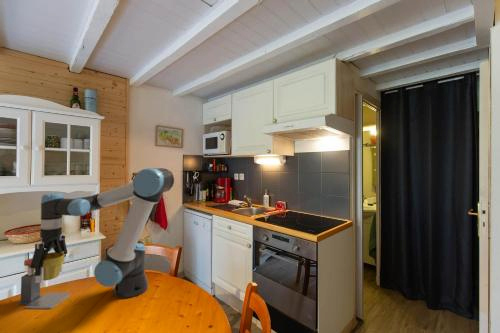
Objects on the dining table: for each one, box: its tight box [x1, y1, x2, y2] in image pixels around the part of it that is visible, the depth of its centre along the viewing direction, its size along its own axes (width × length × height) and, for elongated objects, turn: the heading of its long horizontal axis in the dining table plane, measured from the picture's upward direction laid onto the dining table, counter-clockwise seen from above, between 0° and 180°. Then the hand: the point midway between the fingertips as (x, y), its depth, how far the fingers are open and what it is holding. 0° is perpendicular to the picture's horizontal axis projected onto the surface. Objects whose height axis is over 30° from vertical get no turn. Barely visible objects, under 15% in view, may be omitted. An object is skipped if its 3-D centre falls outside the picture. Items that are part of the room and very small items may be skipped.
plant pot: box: [39, 251, 66, 282], centre depth 108 cm, size 10×10×10 cm
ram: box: [23, 257, 35, 276], centre depth 108 cm, size 5×5×13 cm
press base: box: [18, 273, 71, 310], centre depth 108 cm, size 16×11×12 cm, turn 91°
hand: (49, 276), depth 108 cm, fingers closed on plant pot, 10 cm apart
